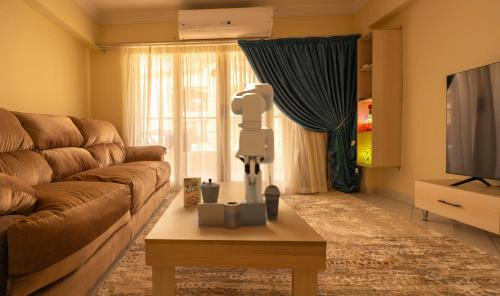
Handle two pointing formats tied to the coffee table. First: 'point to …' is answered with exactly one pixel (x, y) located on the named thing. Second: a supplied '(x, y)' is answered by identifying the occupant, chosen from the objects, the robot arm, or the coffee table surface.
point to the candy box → (192, 191)
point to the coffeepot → (210, 192)
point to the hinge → (231, 214)
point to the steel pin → (252, 170)
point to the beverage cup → (272, 201)
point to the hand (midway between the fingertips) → (252, 173)
